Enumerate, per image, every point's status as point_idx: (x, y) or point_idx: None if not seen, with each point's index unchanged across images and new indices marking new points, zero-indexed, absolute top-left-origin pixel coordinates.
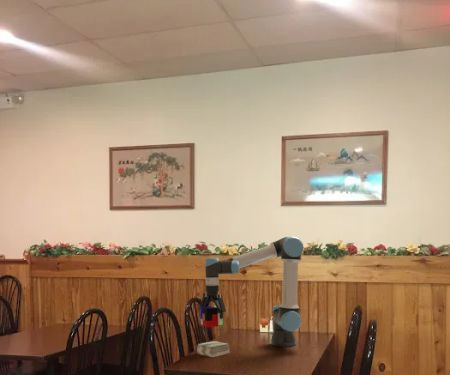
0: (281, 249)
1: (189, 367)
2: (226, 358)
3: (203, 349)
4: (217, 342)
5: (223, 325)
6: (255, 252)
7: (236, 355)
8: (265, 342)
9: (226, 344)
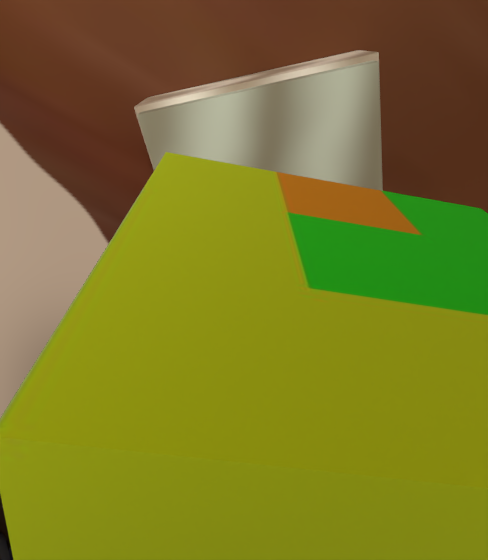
0: None
1: None
2: (477, 183)
3: None
4: (236, 127)
5: (482, 211)
6: None
7: (477, 51)
8: None
9: (379, 97)
